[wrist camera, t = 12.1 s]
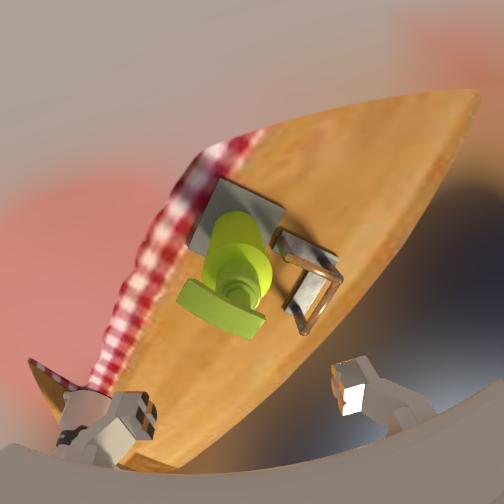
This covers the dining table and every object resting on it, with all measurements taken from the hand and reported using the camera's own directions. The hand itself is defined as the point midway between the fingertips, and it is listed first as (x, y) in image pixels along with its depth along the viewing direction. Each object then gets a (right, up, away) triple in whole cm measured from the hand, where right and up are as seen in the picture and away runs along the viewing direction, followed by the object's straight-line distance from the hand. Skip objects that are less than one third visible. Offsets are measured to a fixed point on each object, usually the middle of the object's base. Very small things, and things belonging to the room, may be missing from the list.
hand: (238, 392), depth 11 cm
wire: (+6, +3, +28) cm, 29 cm away
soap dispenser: (-2, +9, +25) cm, 27 cm away
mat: (-2, +9, +25) cm, 27 cm away
